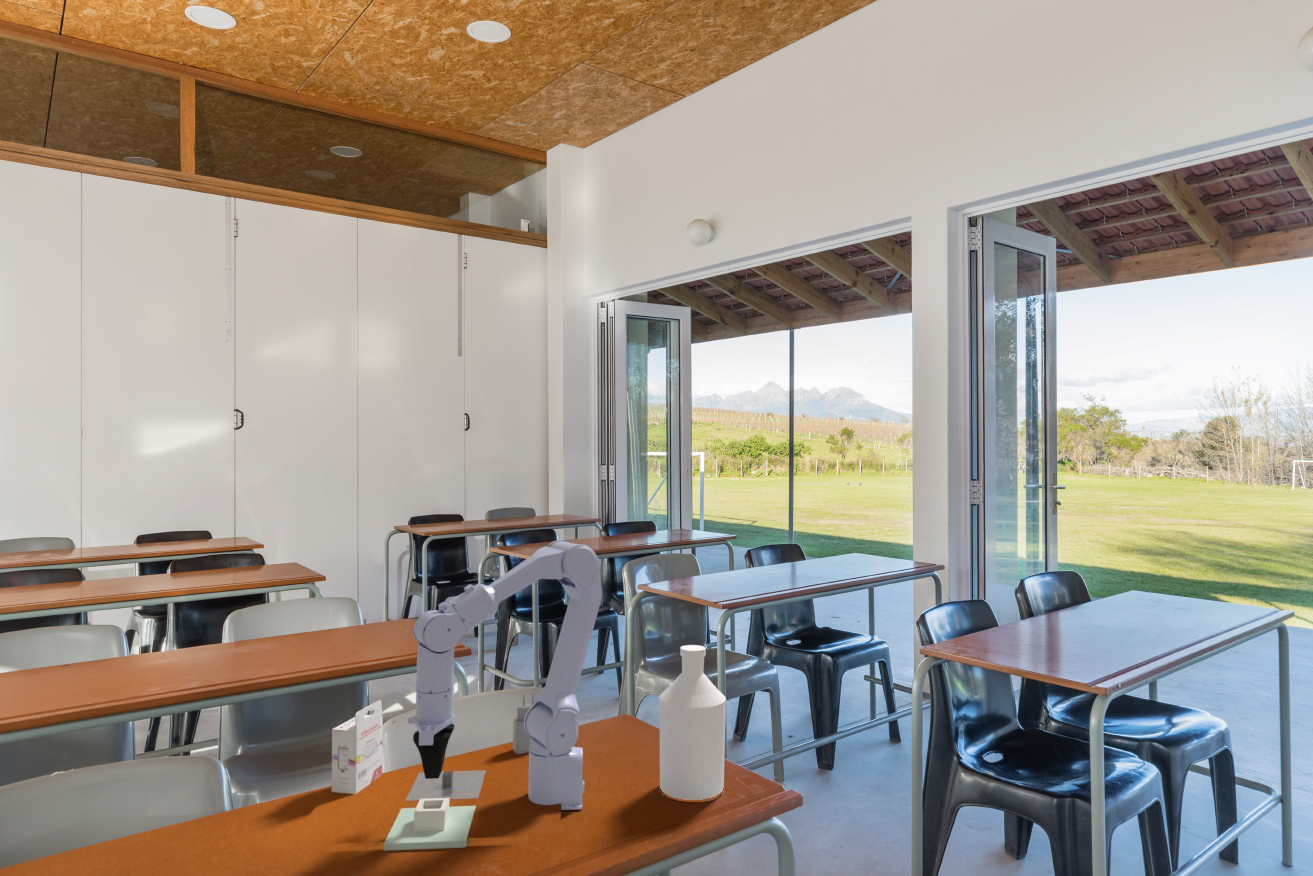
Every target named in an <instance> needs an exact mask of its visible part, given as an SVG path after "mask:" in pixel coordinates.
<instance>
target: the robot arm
mask: <svg viewBox="0 0 1313 876" xmlns="http://www.w3.org/2000/svg"><path fill="white" fill-rule="evenodd" d="M601 565H602V561H601V560H600V558H599V557H598V555H597V553H596V552H595V551H594V549H593V548H592V547H590V546H588V545H586V544H579V543H578V544H577V543H572V542H568V541H566V540H562V539H561V540H560V539H557V540H553V541H552V542H550V543H548V545H547V546H543V547H541V548H540V547H539V548H538V549H537V550H536V551H535V552H534V553H532V555H530V556H529V557H528V558H526V559H524V560H523V561H521V562H520V563H519V564H516V566H514V567H512V569H510V570H509V571H507V572H506V573H504V574H503V575H501V576H500V577H499V578H497V579H495V580H494V581H492V582H491V583H490V584H489V585H486V584H481V583H477V584H475V585H474V584H470V583H469V584H467V585H466V586H465V587H463V590H464V592H462V593H460V594H458V595H457V596H456V597H454V598H453V599H451V600H449V601H448V602H444V601H442V602H441V603H439V604H438V610H436V609H434V610H432V609H431V610H427V611H425V612H423V613H422V614H420V615H419V617H418V618H417V620H416V621H415V623H414V627H412V628H411V632H412V633H411V634H412V636H413V638H414V640H415V641H416V642H417V643H418V644H417V654H416V655H417V658H416V681H415V682H416V683H415V685H416V690H415V714H413V715H412V714H411V715H409V716H408V718H407V723H408V724H409V725H410V724H414V726H415V727H416V731H415V732H414V734H413V735H412V740H413V743H414V744H415V746H416V748H417V750H418V753H419V756H420V759H421V765H422V771H423V772H424V775H425V778H426V779H436V778H439V776H440V774H441V772H443V768H444V763H445V757H446V752H447V748H448V744H449V741H450V739H451V737H452V733H453V732H454V730H455V724H454V722H455V714H454V695H455V694H454V692H455V689H454V688H455V687H454V685H455V682H454V681H455V648H456V646H458V643H459V642H460V639H461V636H462V635H464V634H466V633H468V632H470V631H471V630H473V629H474V628H476V627H477V626H479V625H480V624H482V623H484V622H485V621H486V620H487V619H490V618H491V617H492V616H494V615H496V614H497V611H498V610H499V609H498V607H499V605H500V603H501V602H503V601H504V600H506V599H507V598H510V597H512V596H513V595H514V594H517V593H518V592H520V591H522V590H524V589H526V588H528V586H531V585H532V584H534V583H536V582H538V581H539V580H542V579H543V580H557V581H558V582H560V584H561V585H562V587H563V589H564V591H565V593H566V594H567V595H568V597H569V600H568V604H567V607H566V611H565V615H564V618H563V622H562V625H561V628H560V632H559V636H558V639H557V644H556V646H555V650H554V653H553V657H552V661H551V665H550V669H549V671H548V675H547V679H546V682H545V686H544V687H543V688H542V689H541V690H540V691H538V693H536V695H535V696H534V697H535V698H534V703H533V705H532V706H531V708H530V709H529V710H528V711H527V713H526V715H525V718H524V729H525V732H526V733H527V734H528V736H530V745H529V753H528V800H529V801H530V802H532V803H533V804H536V805H542V806H553V805H559V804H560V810H561V811H570V810H571V811H572V810H577V811H579V810H582V809H583V794H584V793H585V780H583V778H584V777H583V775H584V774H583V771H584V770H583V769H584V766H583V765H584V760H583V759H584V757H583V756H584V754H583V753H584V752H583V751H584V749H583V747H577V746H575V745H576V742H577V741H578V737H579V732H580V731H579V725H578V721H579V720H578V719H579V715H580V707H579V705H578V700H577V698H576V693H577V690H578V685H579V684H580V683H579V682H580V679H581V676H582V671H583V668H584V664H585V661H586V657H587V653H588V650H589V646H590V641H591V638H592V636H593V635H592V634H593V631H594V627H595V624H596V620H597V616H598V612H599V610H600V606H601V605H600V604H601V601H602V599H603V598H602V597H603V588H602V582H601V575H600V569H601V567H602V566H601Z"/></svg>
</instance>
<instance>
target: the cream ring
mask: <svg viewBox="0 0 1313 876" xmlns="http://www.w3.org/2000/svg"><path fill="white" fill-rule="evenodd" d="M450 800H451V799H450V798H427V799H420V800H418V801H417V805H416V807H415V808H416V809H415V811H414V831H437V830H445V827H446V824H447V822H448V819H449V807H450V803H451V802H450Z"/></svg>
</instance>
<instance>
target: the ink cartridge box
mask: <svg viewBox="0 0 1313 876" xmlns="http://www.w3.org/2000/svg"><path fill="white" fill-rule="evenodd" d="M368 712H372V714H368ZM383 717H384V716H383V705H382V700H381V699H378V700H377V701H375V702H372V703H371V704H370V705H367V706H365V707H364V708H362V709H360V710H358V711H357V712H355V715H354V717H352V718H350V719H349V720H346V721H345V722H343V723H341V724H339V725H337V726H336V727H333V728H332V729H331V793H338V794H349V795H350V794H351V795H356V794H358V793H359V792H361V791H363V790H364V789H366V787H368V786H369V785H371V784H372V783H373V782H375V781H376V780H377V779H379V778H380V777H382V775H383V773H382V772H383V735H384V734H383V733H384V732H383V731H384V730H383V727H384V725H383V724H384V723H383V721H384V720H383V719H384V718H383Z"/></svg>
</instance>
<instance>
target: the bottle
mask: <svg viewBox="0 0 1313 876" xmlns="http://www.w3.org/2000/svg"><path fill="white" fill-rule="evenodd" d="M679 648H680V650H679V651H680V653H679V655H680V656H681V673H680V674H679V675H678V677H677V678H676V679H675V680H673V682H672V683H671V684H670V685H669V686H668V687H667V688H666V689H665V690H664V691H663V692H661V694H659V790H660V789H661V790H662V792H664V793H665V794H667V795H668V796H671V797H673V798H678V799H683V800H703V799H707V798H712V797H715V796H717V795H718V794H720V793H721V792H722V791H723V788H724V789H725V787H724V785H725V784H724V783H725V749H726V747H725V746H726V739H725V738H726V707H727V705H726V704H727V698H726V696H725V695H724V694H723V693H722V692H721V691H720V690H719V689H718V688H717V687H716V686H715V685H714V684H713V682H712V681H711V680H710V678H708V676H707V675H706V674H705V673H704V669H705V665H704V663H705V657H706V656H707V655H706V654H707V651H706V650H707V649H706V647H705V646H703V645H698V644H697V645H696V644H687V645H682V646H680V647H679ZM723 792H724V791H723Z"/></svg>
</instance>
